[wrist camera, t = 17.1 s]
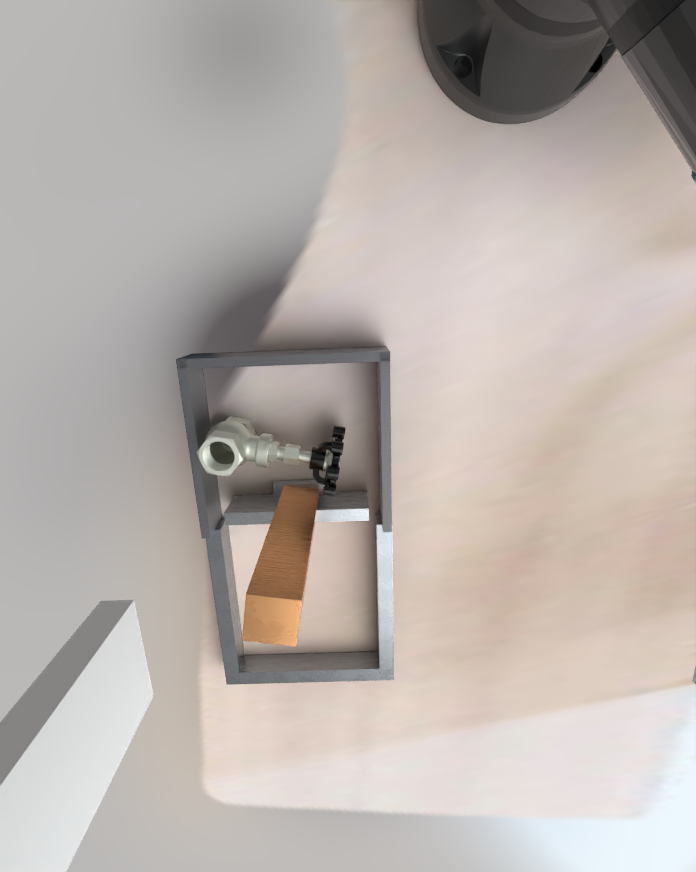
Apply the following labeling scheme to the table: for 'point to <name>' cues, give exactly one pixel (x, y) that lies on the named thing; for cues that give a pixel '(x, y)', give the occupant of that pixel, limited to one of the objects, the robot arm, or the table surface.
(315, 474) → the valve
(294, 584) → the brown wooden block
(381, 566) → the slot rails
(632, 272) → the table surface
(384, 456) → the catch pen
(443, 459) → the table surface
